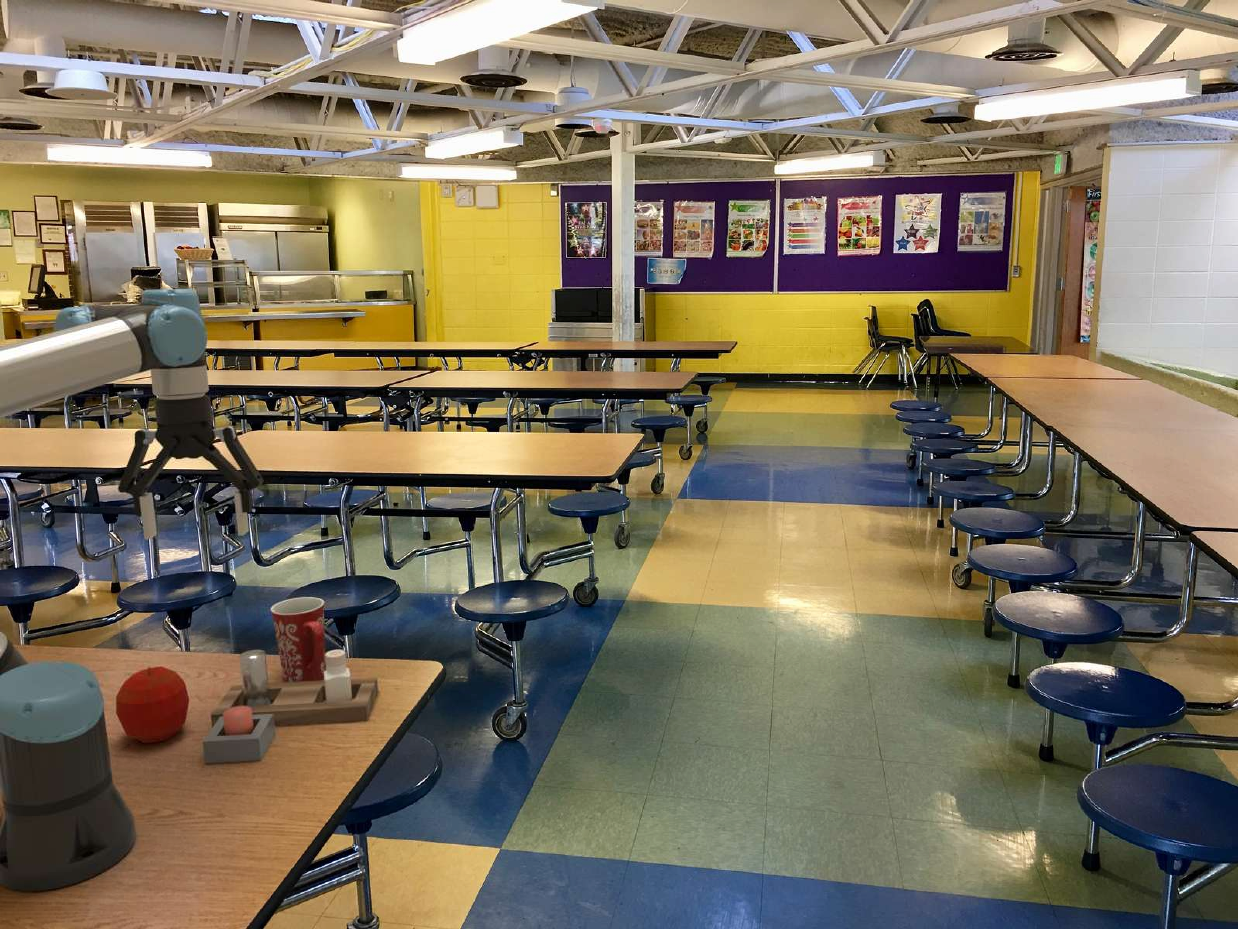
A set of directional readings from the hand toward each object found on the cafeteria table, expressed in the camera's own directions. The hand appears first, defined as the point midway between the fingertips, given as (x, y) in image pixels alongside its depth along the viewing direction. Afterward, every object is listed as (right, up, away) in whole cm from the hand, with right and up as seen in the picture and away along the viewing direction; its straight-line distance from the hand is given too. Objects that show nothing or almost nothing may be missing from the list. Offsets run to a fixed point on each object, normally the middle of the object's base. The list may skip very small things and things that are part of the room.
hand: (197, 535), depth 143 cm
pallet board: (+11, -30, +13) cm, 34 cm away
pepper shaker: (+18, -30, +13) cm, 37 cm away
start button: (+7, -31, 0) cm, 32 cm away
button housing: (+7, -32, 0) cm, 33 cm away
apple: (-8, -32, +5) cm, 33 cm away
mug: (+9, -28, +24) cm, 38 cm away
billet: (+5, -30, +12) cm, 32 cm away
